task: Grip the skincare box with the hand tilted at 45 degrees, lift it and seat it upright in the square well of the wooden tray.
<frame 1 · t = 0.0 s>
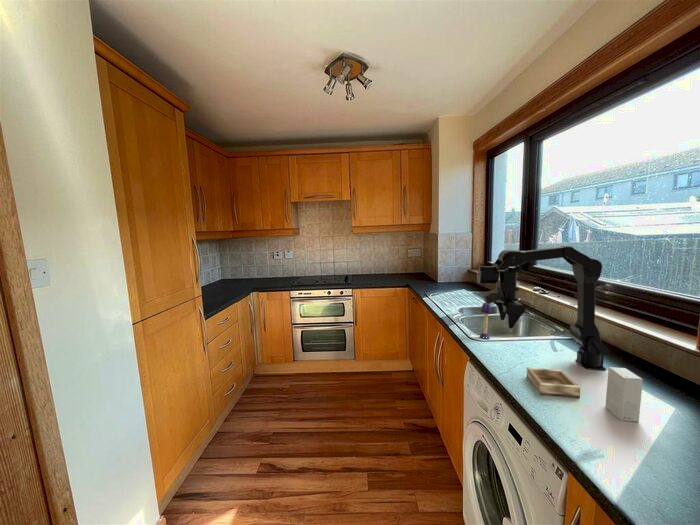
hand: (506, 323, 104), 15 cm above the counter, tool pointing down, fingers open, 9 cm apart
wooden tray: (551, 387, 88), on the counter
skincare box: (621, 414, 75), on the counter
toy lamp: (485, 338, 128), on the counter
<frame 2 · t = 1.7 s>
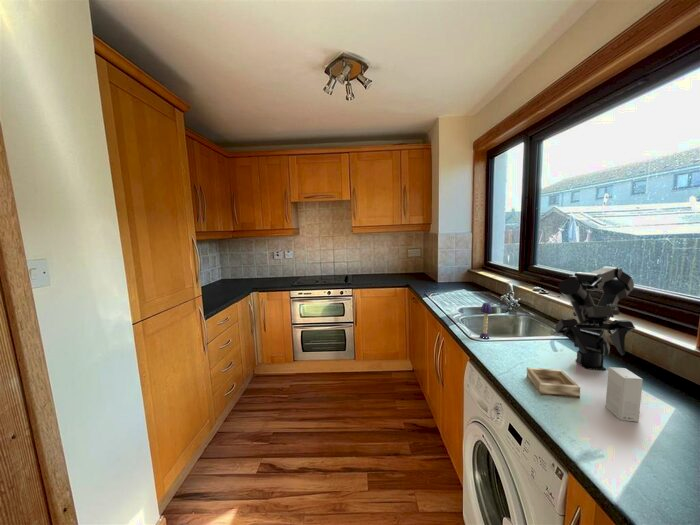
hand: (604, 353, 81), 13 cm above the counter, tool tilted 45°, fingers open, 9 cm apart
nothing on the counter moved.
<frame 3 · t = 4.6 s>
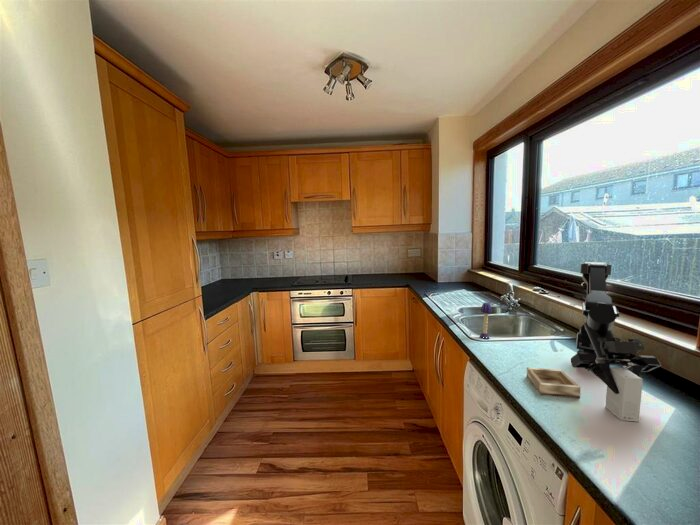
hand: (627, 394, 73), 7 cm above the counter, tool tilted 45°, fingers closed on skincare box, 4 cm apart
skincare box: (621, 414, 75), on the counter, touching gripper
everything else where it was.
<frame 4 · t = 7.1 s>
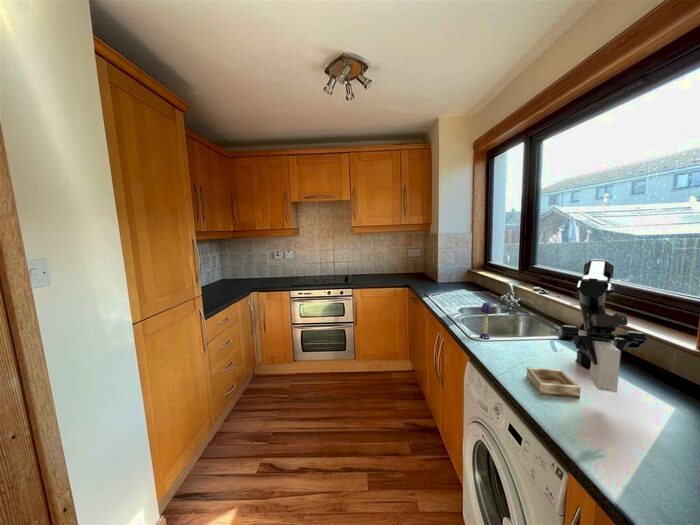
hand: (606, 366, 75), 13 cm above the counter, tool tilted 45°, fingers closed on skincare box, 4 cm apart
skincare box: (602, 386, 77), point 6 cm above the counter, touching gripper
everything else where it was.
when the fingers open (8 cm above the counter, at t = 10.0 s): skincare box stays where it is, resting on wooden tray.
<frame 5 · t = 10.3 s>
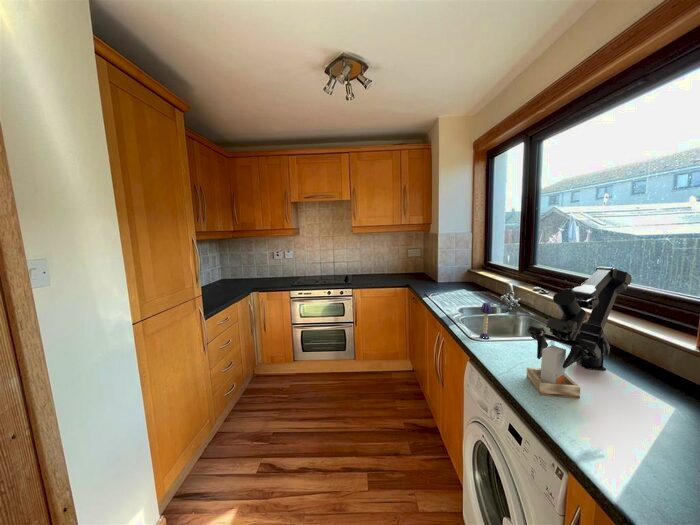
hand: (550, 363, 86), 9 cm above the counter, tool tilted 45°, fingers open, 7 cm apart
skincare box: (552, 385, 88), point 1 cm above the counter, touching wooden tray
everything else where it was.
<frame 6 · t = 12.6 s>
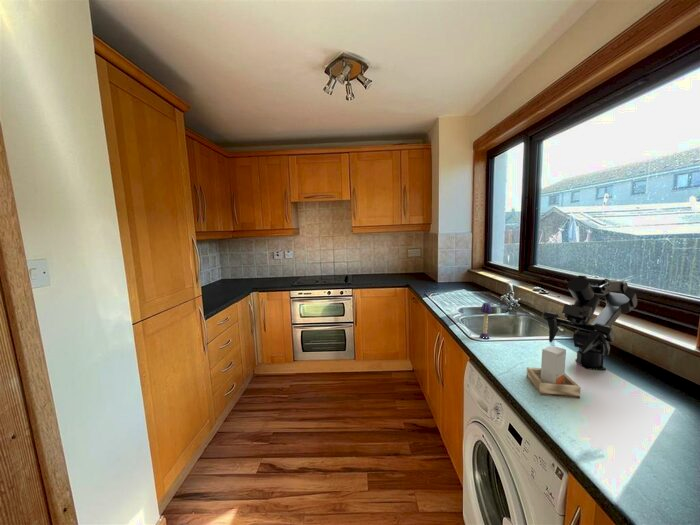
hand: (565, 346, 90), 12 cm above the counter, tool tilted 45°, fingers open, 9 cm apart
nothing on the counter moved.
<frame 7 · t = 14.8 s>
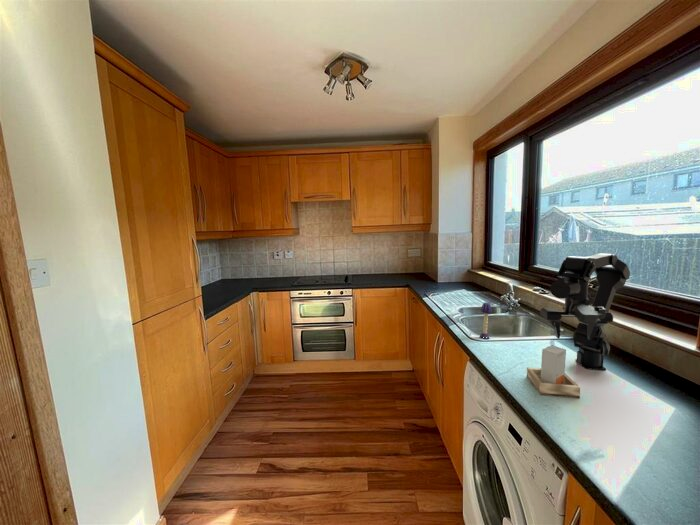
hand: (573, 338, 93), 13 cm above the counter, tool pointing down, fingers open, 9 cm apart
nothing on the counter moved.
at the end: skincare box 0.2 cm off-centre on the wooden tray, point 0.6 cm above the wooden tray's base; skincare box tilted 0°; the gripper is holding nothing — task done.
